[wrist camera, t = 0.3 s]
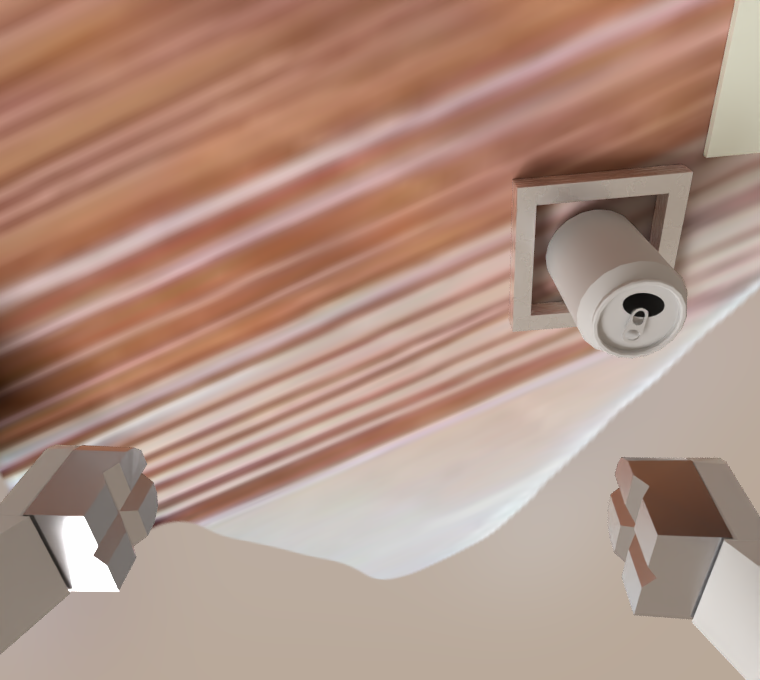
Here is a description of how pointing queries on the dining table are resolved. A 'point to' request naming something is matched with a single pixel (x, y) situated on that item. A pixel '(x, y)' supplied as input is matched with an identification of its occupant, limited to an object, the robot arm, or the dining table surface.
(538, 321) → the square picture frame
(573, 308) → the can
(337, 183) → the dining table surface
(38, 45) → the dining table surface
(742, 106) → the tile
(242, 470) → the dining table surface
